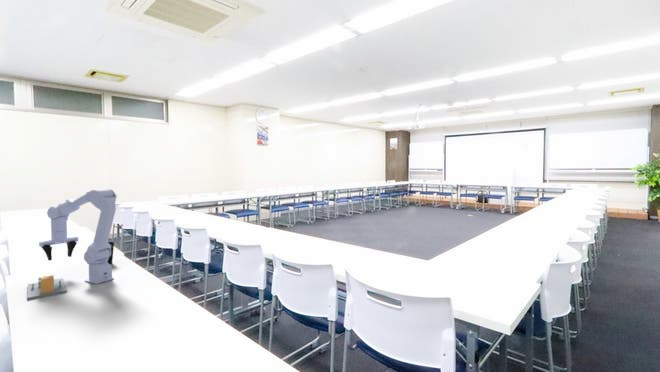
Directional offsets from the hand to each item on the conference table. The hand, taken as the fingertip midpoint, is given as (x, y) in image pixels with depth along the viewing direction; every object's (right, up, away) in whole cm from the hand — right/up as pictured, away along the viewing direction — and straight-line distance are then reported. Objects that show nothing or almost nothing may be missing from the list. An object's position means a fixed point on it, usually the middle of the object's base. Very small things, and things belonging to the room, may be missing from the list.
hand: (59, 258), depth 149 cm
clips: (+7, -10, -14) cm, 19 cm away
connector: (+12, -10, -19) cm, 24 cm away
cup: (+5, -9, +24) cm, 26 cm away
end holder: (+2, -9, -10) cm, 14 cm away
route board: (+7, -10, -14) cm, 19 cm away
